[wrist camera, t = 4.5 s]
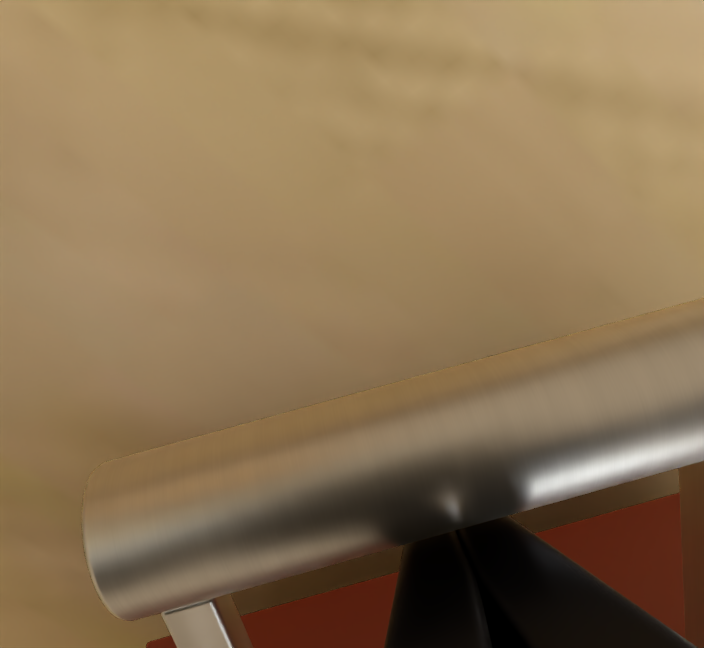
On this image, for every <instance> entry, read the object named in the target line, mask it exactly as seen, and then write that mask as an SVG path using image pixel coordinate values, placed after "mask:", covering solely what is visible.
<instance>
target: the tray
mask: <svg viewBox="0 0 704 648" xmlns="http://www.w3.org/2000/svg"><path fill="white" fill-rule="evenodd" d="M676 468H679V487H680V493H676V494H673V495H669V496H666V497H662V498H658V499H655V500H651V501H648V502H644V503H641V504H637V505H633V506H630V507H626V508H623V509H619V510H616V511H612V512H609V513H605V514H601V515H598V516H594V517H591V518H587V519H584V520H580V521H577V522H573V523H569V524H566V525H562V526H559V527H555V528H552V529H548V530H545V531H541V532H537V533H534V534H536V535H537V536H539V537H540V538H541V539H543V540H544V541H546V542H547V543H549V544H550V545H551V546H553V547H554V548H556V549H557V550H559V551H560V552H561V553H563V554H564V555H566V556H567V557H569V558H570V559H572V560H573V561H574V562H576V563H577V564H579V565H580V566H582V567H583V568H584V569H586V570H587V571H589V572H590V573H592V574H593V575H594V576H596V577H597V578H599V579H600V580H602V581H603V582H605V583H606V584H607V585H609V586H610V587H612V588H613V589H615V590H616V591H617V592H619V593H620V594H622V595H623V596H625V597H626V598H628V599H629V600H630V601H632V602H633V603H635V604H636V605H638V606H639V607H640V608H642V609H643V610H645V611H646V612H648V613H649V614H650V615H652V616H653V617H655V618H656V619H658V620H659V621H661V622H662V623H663V624H665V625H666V626H668V627H669V628H671V629H672V630H673V631H675V632H676V633H678V634H679V635H681V636H682V637H683V638H685V639H686V640H688V641H689V642H691V643H692V644H694V645H695V646H696V647H698V648H704V298H701V299H697V300H694V301H690V302H686V303H683V304H679V305H676V306H672V307H668V308H665V309H661V310H657V311H654V312H650V313H646V314H643V315H639V316H635V317H632V318H628V319H624V320H621V321H617V322H614V323H610V324H606V325H603V326H599V327H595V328H592V329H588V330H584V331H581V332H577V333H573V334H570V335H566V336H562V337H559V338H555V339H551V340H548V341H544V342H541V343H537V344H533V345H530V346H526V347H522V348H519V349H515V350H511V351H508V352H504V353H500V354H497V355H493V356H489V357H486V358H482V359H478V360H475V361H471V362H468V363H464V364H460V365H457V366H453V367H449V368H446V369H442V370H438V371H435V372H431V373H427V374H424V375H420V376H416V377H413V378H409V379H405V380H402V381H398V382H395V383H391V384H387V385H384V386H380V387H376V388H373V389H369V390H365V391H362V392H358V393H354V394H351V395H347V396H343V397H340V398H336V399H333V400H329V401H325V402H322V403H318V404H314V405H311V406H307V407H303V408H300V409H296V410H292V411H289V412H285V413H281V414H278V415H274V416H270V417H267V418H263V419H260V420H256V421H252V422H249V423H245V424H241V425H238V426H234V427H230V428H227V429H223V430H219V431H216V432H212V433H208V434H205V435H201V436H197V437H194V438H190V439H187V440H183V441H179V442H176V443H172V444H168V445H165V446H161V447H157V448H154V449H150V450H146V451H143V452H139V453H135V454H132V455H128V456H125V457H121V458H117V459H114V460H110V461H106V462H104V463H102V464H101V465H99V466H98V467H97V468H96V469H94V470H93V472H92V473H91V474H90V476H89V478H88V480H87V483H86V486H85V490H84V494H83V500H82V510H81V528H82V540H83V548H84V553H85V559H86V563H87V567H88V570H89V574H90V577H91V580H92V582H93V585H94V588H95V590H96V592H97V594H98V596H99V598H100V600H101V601H102V603H103V605H104V606H105V607H106V608H107V610H108V611H109V612H110V613H111V614H112V615H113V616H115V617H117V618H119V619H122V620H127V621H133V620H137V619H140V618H144V617H148V616H151V615H155V614H158V613H161V616H162V618H163V620H164V622H165V624H166V626H167V628H168V630H169V632H170V634H171V636H167V637H164V638H160V639H157V640H153V641H150V642H148V643H147V645H146V648H384V645H385V640H386V634H387V629H388V624H389V619H390V614H391V609H392V604H393V599H394V593H395V588H396V583H397V578H398V573H399V572H395V573H392V574H388V575H384V576H381V577H377V578H374V579H370V580H367V581H363V582H360V583H356V584H352V585H349V586H345V587H342V588H338V589H335V590H331V591H328V592H324V593H320V594H317V595H313V596H310V597H306V598H303V599H299V600H296V601H292V602H288V603H285V604H281V605H278V606H274V607H271V608H267V609H263V610H260V611H256V612H253V613H249V614H246V615H242V616H240V615H239V613H238V610H237V608H236V606H235V603H234V601H233V599H232V596H231V594H230V593H233V592H237V591H240V590H244V589H248V588H251V587H255V586H258V585H262V584H265V583H269V582H273V581H276V580H280V579H283V578H287V577H290V576H294V575H298V574H301V573H305V572H308V571H312V570H315V569H319V568H323V567H326V566H330V565H333V564H337V563H340V562H344V561H348V560H351V559H355V558H358V557H362V556H365V555H369V554H373V553H376V552H380V551H383V550H387V549H390V548H394V547H398V546H401V545H405V544H408V543H412V542H415V541H419V540H423V539H426V538H430V537H433V536H437V535H440V534H444V533H447V532H451V531H455V530H458V529H462V528H465V527H469V526H472V525H476V524H480V523H483V522H487V521H490V520H494V519H497V518H501V517H505V516H508V515H512V514H515V513H519V512H522V511H526V510H530V509H533V508H537V507H540V506H544V505H547V504H551V503H555V502H558V501H562V500H565V499H569V498H572V497H576V496H580V495H583V494H587V493H590V492H594V491H597V490H601V489H605V488H608V487H612V486H615V485H619V484H622V483H626V482H630V481H633V480H637V479H640V478H644V477H647V476H651V475H655V474H658V473H662V472H665V471H669V470H672V469H676Z"/></svg>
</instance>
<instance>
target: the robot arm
mask: <svg viewBox="0 0 704 648" xmlns="http://www.w3.org/2000/svg"><path fill="white" fill-rule="evenodd" d="M384 648H698V647H696V646H695V645H694V644H692V643H691V642H689V641H688V640H686V639H685V638H683V637H682V636H681V635H679V634H678V633H676V632H675V631H673V630H672V629H671V628H669V627H668V626H666V625H665V624H663V623H662V622H661V621H659V620H658V619H656V618H655V617H653V616H652V615H650V614H649V613H648V612H646V611H645V610H643V609H642V608H640V607H639V606H638V605H636V604H635V603H633V602H632V601H630V600H629V599H628V598H626V597H625V596H623V595H622V594H620V593H619V592H617V591H616V590H615V589H613V588H612V587H610V586H609V585H607V584H606V583H605V582H603V581H602V580H600V579H599V578H597V577H596V576H594V575H593V574H592V573H590V572H589V571H587V570H586V569H584V568H583V567H582V566H580V565H579V564H577V563H576V562H574V561H573V560H572V559H570V558H569V557H567V556H566V555H564V554H563V553H561V552H560V551H559V550H557V549H556V548H554V547H553V546H551V545H550V544H549V543H547V542H546V541H544V540H543V539H541V538H540V537H539V536H537V535H536V534H534V533H533V532H531V531H530V530H528V529H527V528H526V527H524V526H523V525H521V524H520V523H518V522H517V521H516V520H514V519H513V518H511V517H510V516H505V517H501V518H497V519H494V520H490V521H487V522H483V523H480V524H476V525H472V526H469V527H465V528H462V529H458V530H455V531H451V532H447V533H444V534H440V535H437V536H433V537H430V538H426V539H423V540H419V541H415V542H412V543H408V544H405V545H404V547H403V552H402V558H401V563H400V568H399V573H398V578H397V583H396V588H395V593H394V599H393V604H392V609H391V614H390V619H389V624H388V629H387V634H386V640H385V645H384Z"/></svg>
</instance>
